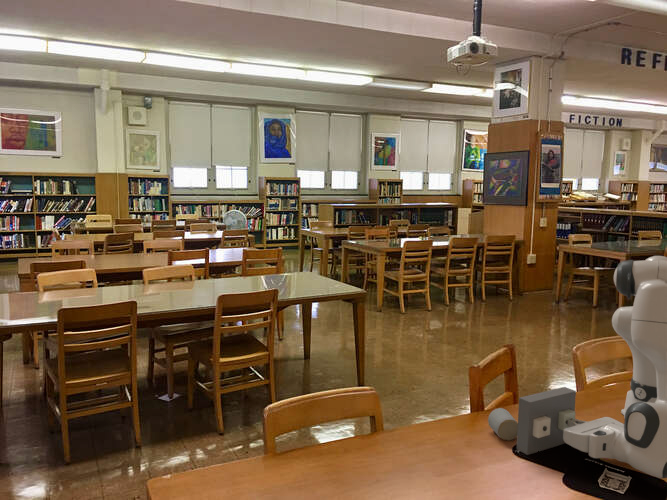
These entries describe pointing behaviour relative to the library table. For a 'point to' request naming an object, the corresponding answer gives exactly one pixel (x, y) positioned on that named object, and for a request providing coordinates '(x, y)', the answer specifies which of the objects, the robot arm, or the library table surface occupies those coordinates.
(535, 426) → the one dot button
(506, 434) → the ceramic mug
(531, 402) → the button panel
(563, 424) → the two dot button
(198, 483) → the library table surface
